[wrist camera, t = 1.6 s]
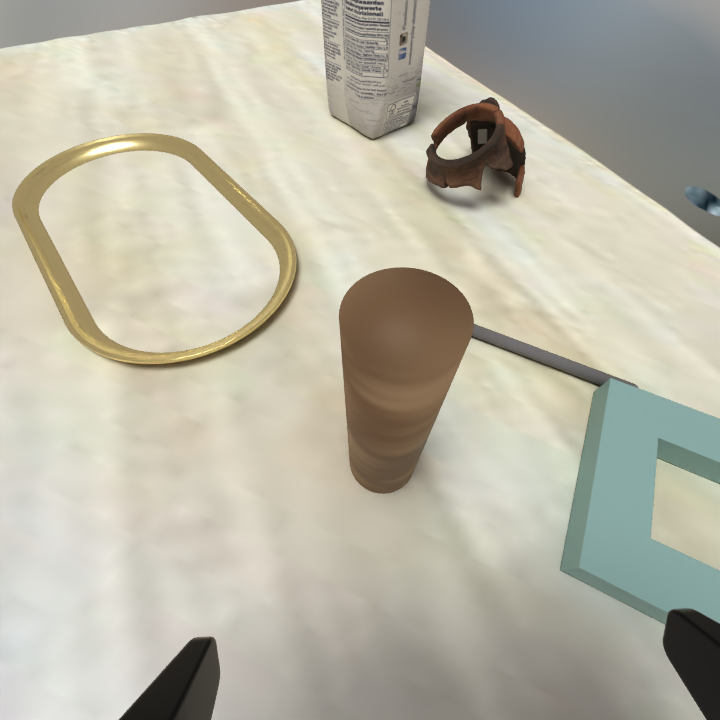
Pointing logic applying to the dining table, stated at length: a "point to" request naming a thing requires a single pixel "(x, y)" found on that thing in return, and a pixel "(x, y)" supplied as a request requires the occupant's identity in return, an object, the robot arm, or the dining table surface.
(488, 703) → the dining table surface
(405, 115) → the juice carton
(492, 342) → the grey thin rod
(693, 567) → the square ring
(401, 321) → the dowel
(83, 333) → the gold oval loop
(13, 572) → the dining table surface
